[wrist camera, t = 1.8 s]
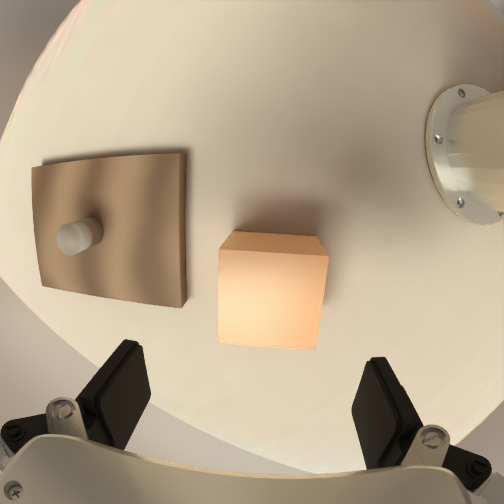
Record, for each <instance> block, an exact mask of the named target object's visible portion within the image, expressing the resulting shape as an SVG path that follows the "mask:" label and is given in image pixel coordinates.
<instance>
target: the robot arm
mask: <svg viewBox="0 0 504 504" xmlns="http://www.w3.org/2000/svg"><path fill="white" fill-rule="evenodd" d="M434 138H435V139H434ZM425 142H426V153H427V159H428V164H429V168H430V172H431V175H432V177H433V180H434V183H435V185H436V187H437V189H438V191H439V193H440V195H441V197H442V198H443V200H444V201H445V202H446V204H447V205H448V206H449V208H451V209H452V210H453V211H454V212H455V213H456V214H457V215H458V216H460V217H461V218H463V219H465V220H467V221H470V222H472V223H475V224H480V225H489V224H494V223H496V222H499V221H501V220H502V219H503V218H504V90H503V91H499V92H496V93H492V94H491V93H490V92H489V91H487V90H485V89H484V88H482V87H479V86H476V85H473V84H460V85H456V86H453V87H451V88H449V89H447V90H445V91H444V92H443V93H442V94H440V95H439V96H438V98H437V99H436V101H435V102H434V103H433V105H432V108H431V110H430V113H429V115H428V120H427V125H426V140H425ZM150 397H151V390H150V386H149V381H148V376H147V370H146V365H145V359H144V353H143V348H142V346H141V345H139V343H138V342H137V341H132V340H127V339H125V340H123V342H122V343H121V344H120V345H119V346H118V348H117V349H116V350H115V351H114V352H113V354H112V355H111V356H110V357H109V358H108V360H107V361H106V362H105V363H104V365H103V366H102V367H101V368H100V369H99V370H98V372H97V373H96V374H95V375H94V377H93V378H92V379H91V380H90V382H89V383H88V384H87V385H86V387H85V388H84V389H83V390H82V392H81V393H80V394H79V395H78V397H77V398H76V399H75V400H74V399H71V398H68V397H59V398H56V399H54V400H52V401H51V402H50V403H49V404H48V405H47V407H46V413H45V414H40V415H36V416H30V417H26V418H20V419H14V420H10V421H8V422H7V423H5V424H4V425H3V426H2V429H1V434H0V504H504V477H503V476H502V475H500V474H499V473H497V472H496V473H495V474H493V473H492V472H491V471H492V468H491V464H490V462H489V461H488V460H487V459H486V458H484V457H483V456H480V455H477V454H474V453H472V452H469V451H466V450H463V449H461V448H458V447H455V446H453V445H451V444H450V436H449V434H448V432H447V431H446V430H445V429H444V428H442V427H440V426H437V425H426V426H423V424H422V422H421V420H420V418H419V416H418V414H417V412H416V410H415V408H414V406H413V404H412V402H411V400H410V399H409V397H408V395H407V393H406V391H405V389H404V388H403V386H401V385H400V383H399V381H398V379H397V377H396V375H395V374H394V372H393V370H392V368H391V366H390V365H389V363H388V361H387V359H386V358H385V357H372V358H371V359H370V361H367V362H366V365H365V368H364V371H363V375H362V378H361V381H360V384H359V387H358V390H357V393H356V396H355V399H354V402H353V405H352V416H353V420H354V423H355V427H356V430H357V434H358V438H359V441H360V445H361V449H362V452H363V456H364V460H365V464H366V468H367V470H361V471H352V472H340V473H327V474H309V475H308V474H307V475H306V474H305V475H277V474H253V473H240V472H229V471H220V470H213V469H206V468H199V467H193V466H187V465H182V464H177V463H171V462H167V461H162V460H158V459H154V458H150V457H146V456H142V455H138V454H135V453H131V452H127V451H124V449H125V447H126V445H127V443H128V441H129V439H130V437H131V435H132V433H133V431H134V429H135V427H136V425H137V423H138V421H139V419H140V417H141V415H142V413H143V411H144V409H145V407H146V405H147V404H148V402H149V400H150Z"/></svg>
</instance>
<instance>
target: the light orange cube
mask: <svg viewBox="0 0 504 504" xmlns="http://www.w3.org/2000/svg"><path fill="white" fill-rule="evenodd" d="M328 261H329V255H328V254H327V252H326V250H325V249H324V247H323V246H322V244H321V242H320V241H319V239H318V238H317V236H305V235H290V234H275V233H259V232H242V231H232V233H231V234H230V235H229V236H228V238H227V239H226V240H225V242H224V243H223V244H222V245H221V247H220V248H219V265H218V332H219V343H227V344H237V345H249V346H261V347H276V348H295V349H315V347H316V342H317V336H318V330H319V324H320V318H321V312H322V305H323V298H324V292H325V284H326V277H327V269H328Z"/></svg>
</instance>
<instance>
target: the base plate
mask: <svg viewBox="0 0 504 504" xmlns="http://www.w3.org/2000/svg"><path fill="white" fill-rule="evenodd" d="M185 181H186V154H182V153H170V154H147V155H131V156H118V157H107V158H97V159H87V160H79V161H71V162H64V163H57V164H50V165H44V166H38V167H32V208H33V222H34V233H35V242H36V250H37V258H38V264H39V270H40V276H41V282H42V286H45V287H50V288H55V289H60V290H65V291H70V292H76V293H81V294H87V295H93V296H98V297H104V298H111V299H117V300H123V301H130V302H137V303H144V304H151V305H159V306H167V307H175V308H182V307H183V306H184V304H185V303H186V301H187V292H186V262H185Z"/></svg>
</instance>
